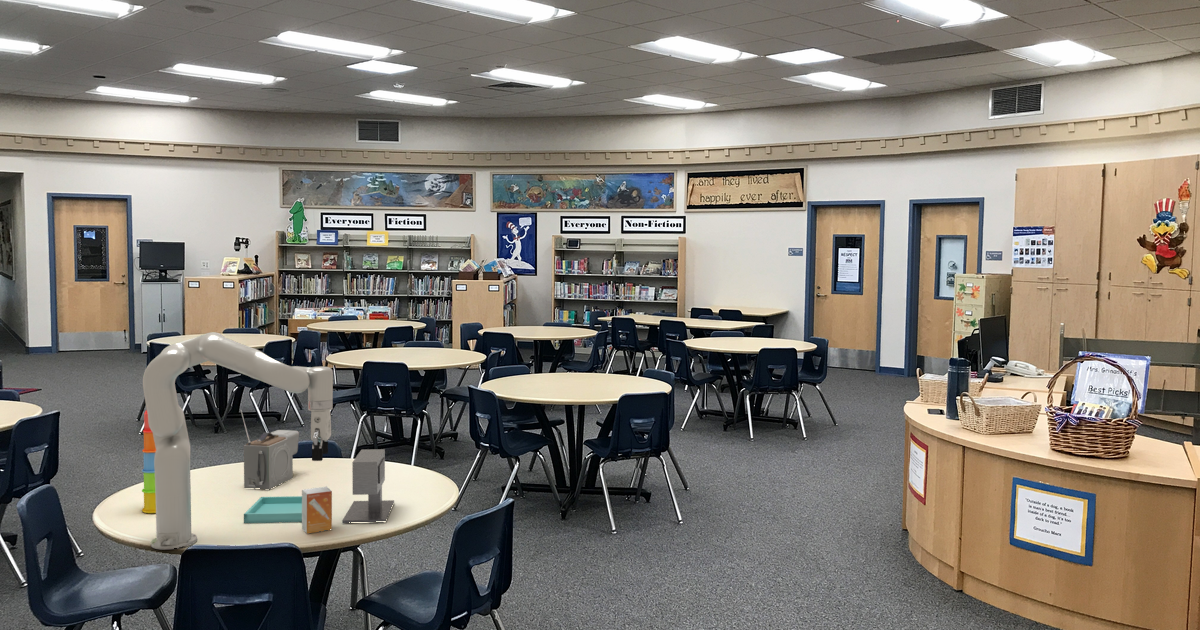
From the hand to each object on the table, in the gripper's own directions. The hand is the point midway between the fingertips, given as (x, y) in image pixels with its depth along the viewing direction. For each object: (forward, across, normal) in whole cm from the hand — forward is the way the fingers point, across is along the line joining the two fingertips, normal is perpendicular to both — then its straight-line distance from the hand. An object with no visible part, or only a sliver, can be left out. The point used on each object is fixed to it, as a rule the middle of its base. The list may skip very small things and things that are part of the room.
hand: (320, 457), depth 270 cm
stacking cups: (+24, +23, +57) cm, 66 cm away
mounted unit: (+23, +12, -14) cm, 29 cm away
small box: (+23, -4, 0) cm, 23 cm away
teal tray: (+23, +15, +14) cm, 31 cm away
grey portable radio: (+23, +56, +28) cm, 67 cm away
